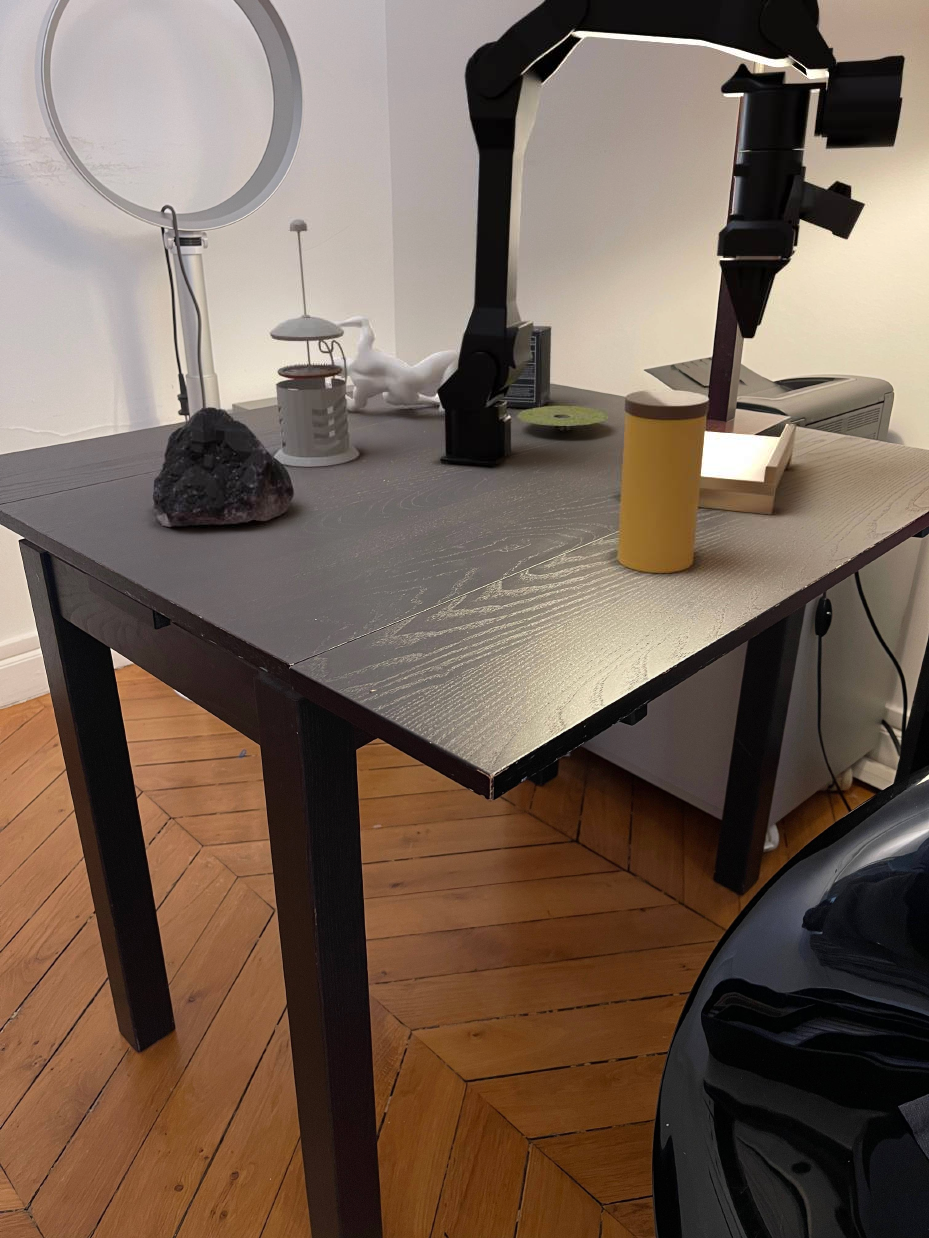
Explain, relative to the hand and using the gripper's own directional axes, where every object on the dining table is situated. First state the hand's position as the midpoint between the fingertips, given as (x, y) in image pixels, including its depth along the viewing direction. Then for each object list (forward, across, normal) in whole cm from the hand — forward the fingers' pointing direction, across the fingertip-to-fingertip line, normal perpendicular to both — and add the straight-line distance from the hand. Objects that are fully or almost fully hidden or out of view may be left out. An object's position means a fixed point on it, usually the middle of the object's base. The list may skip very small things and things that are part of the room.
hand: (751, 331), depth 90 cm
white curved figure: (+15, +19, +46) cm, 52 cm away
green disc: (+15, +16, +22) cm, 31 cm away
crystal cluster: (+15, -25, +45) cm, 54 cm away
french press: (+15, -3, +46) cm, 49 cm away
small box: (+15, +30, +34) cm, 47 cm away
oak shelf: (+15, -2, +2) cm, 15 cm away
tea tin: (+15, -26, +4) cm, 30 cm away
